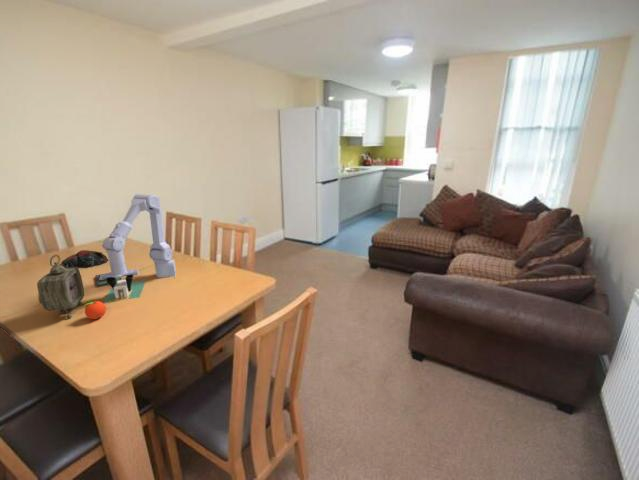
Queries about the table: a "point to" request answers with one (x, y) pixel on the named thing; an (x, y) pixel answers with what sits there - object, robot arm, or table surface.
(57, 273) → the tabletop clock
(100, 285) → the disk drive
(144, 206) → the robot arm
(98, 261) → the drone shell
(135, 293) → the pin board
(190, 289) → the table surface
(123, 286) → the block
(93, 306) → the clementine
